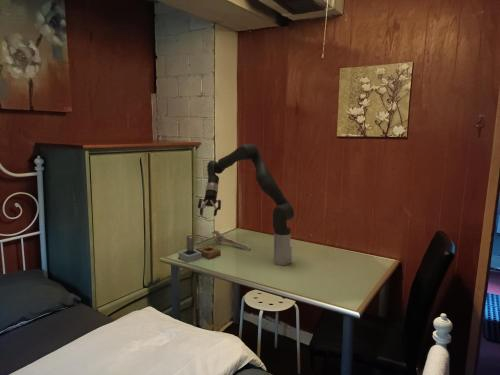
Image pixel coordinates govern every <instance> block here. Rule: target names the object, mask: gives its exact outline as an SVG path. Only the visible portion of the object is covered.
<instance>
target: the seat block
mask: <svg viewBox="0 0 500 375" xmlns="http://www.w3.org/2000/svg"><path fill="white" fill-rule="evenodd" d="M179 258H180V260H182V261H185V262H187V263H192V262H195V261H198V260H200V259H203V257H202V252H199V251H197V250H196V249H194V254H191V255H187V249H185V250H181V251H179V252H178V259H179Z"/></svg>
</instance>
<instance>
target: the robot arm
mask: <svg viewBox="0 0 500 375" xmlns="http://www.w3.org/2000/svg"><path fill="white" fill-rule="evenodd" d="M240 161H251V162H252V164H253V166H254V169H255V180H256V183H257V185H258V186H259V188H260V190H261V191H262V192H263V193H264V194H265V195H266V196H268V197H269V198H270V199H272V201H274V203H275V204H276V206H274V208H273V210H272V228H273V258H272V259H273V263H274V264H275V265H278V266H284V267H285V266H287V265H290V264H291V263H292V252H293V251H292V250H293V249H292V248H293V247H292V246H291V235H292V234H291V232H292V230H291V228H290V227H289V226H288V223H287V222H288V221H290V220H292V219H294V216H295V209H294V208H293V206H292V205H291V203H290V202H289V200H288V199H287V198H286V197H285V195H284V194H283V192H282V190H281V189H280V187H279V185H278V184H277V182H276V181H275V178H274V177H273V175H272V174H271V171H269V168H268V167H267V165H266V163H265V161H264V159H263V157H262V155H261V152H260V150H259V148H258V147H257V145H255V144H254V143H244V144H241V145H240V146H238V147H237V148H236V149H235V150H233V151H232V152H231V153H229V154H227V155H225V156H223V157H221V158H219V159H218V160H217V161H215V160H209V161H208V163H207V166H206V169H207V183H206V187H205V194H204V198H203V199H202V198H199V199H198V204H197V208H198V209H199V215H200V216H203V213H204V209H205V208H206V207H209V208H210V207H211V208H212V207H213V208H214V210H213V217H216V216H217V214H218V211H221V208H222V200H221V199H218V192H219V184H220V182H219V181H220V177H219V176H218V175H220V174H222V173H223V172H224V171H225V170H226V169H228V168H229V167H232V166H233V165H234V164H235V163H237V162H240ZM216 204H217V206H216Z"/></svg>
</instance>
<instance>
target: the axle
mask: <svg viewBox="0 0 500 375" xmlns="http://www.w3.org/2000/svg"><path fill="white" fill-rule="evenodd" d="M194 240H195V236H194V235H187V236H186V250H187V255H191V254H194V250H195V244H194V243H195V241H194Z"/></svg>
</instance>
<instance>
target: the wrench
mask: <svg viewBox="0 0 500 375" xmlns="http://www.w3.org/2000/svg"><path fill="white" fill-rule="evenodd" d="M211 235H215V237H214V238H212V239H213V241H215V242H216V243H217V244H218V245H221V243H222V242H223V243H226V244H228V245H232V246H235V247H237V248H239V249H242V250H245V251H250V250H251V249H252V248H251V245H249V244H245V243H242V242H240V241H237V240H234V239H231V238H228V237H226V236H225V235H224V234H222V233H221V232H220V231H218V230H213V231H212V232H211Z"/></svg>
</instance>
